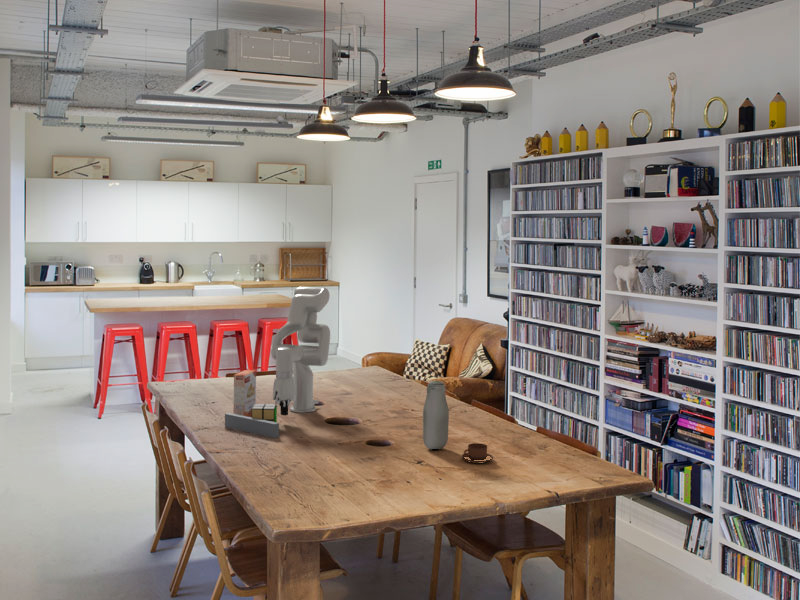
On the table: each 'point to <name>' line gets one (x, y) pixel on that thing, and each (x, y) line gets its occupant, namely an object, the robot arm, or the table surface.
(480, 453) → the cup and saucer
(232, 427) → the stop board
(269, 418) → the puzzle cube
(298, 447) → the table surface
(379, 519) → the table surface
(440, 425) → the glass bottle
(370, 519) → the table surface
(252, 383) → the cracker box
